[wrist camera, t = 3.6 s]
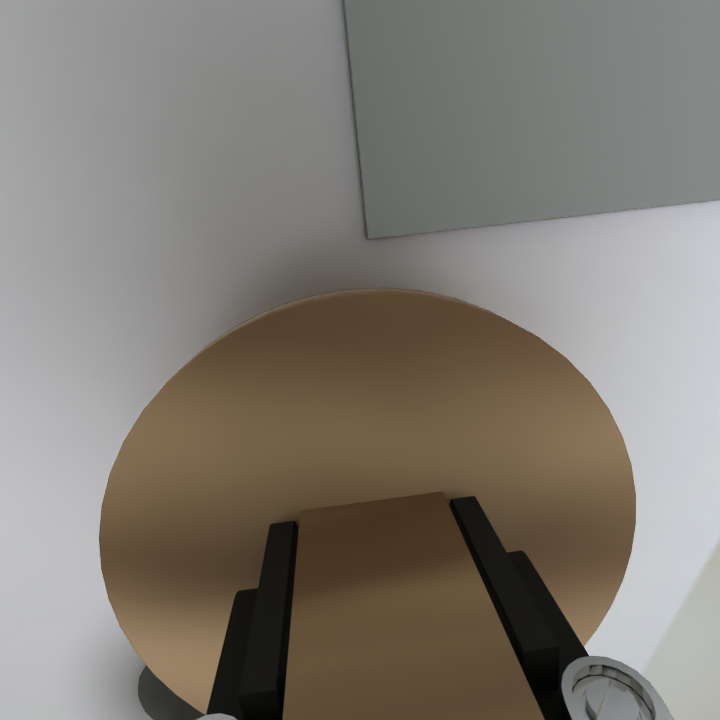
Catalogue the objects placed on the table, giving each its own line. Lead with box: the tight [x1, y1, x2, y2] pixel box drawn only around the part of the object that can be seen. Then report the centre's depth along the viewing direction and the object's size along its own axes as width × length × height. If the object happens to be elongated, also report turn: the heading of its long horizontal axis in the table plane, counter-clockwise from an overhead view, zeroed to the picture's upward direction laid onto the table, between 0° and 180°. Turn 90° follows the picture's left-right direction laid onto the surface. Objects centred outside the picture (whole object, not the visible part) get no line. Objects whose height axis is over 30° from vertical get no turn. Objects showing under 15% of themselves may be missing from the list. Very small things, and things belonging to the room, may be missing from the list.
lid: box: [99, 288, 636, 720], centre depth 9 cm, size 12×12×6 cm
